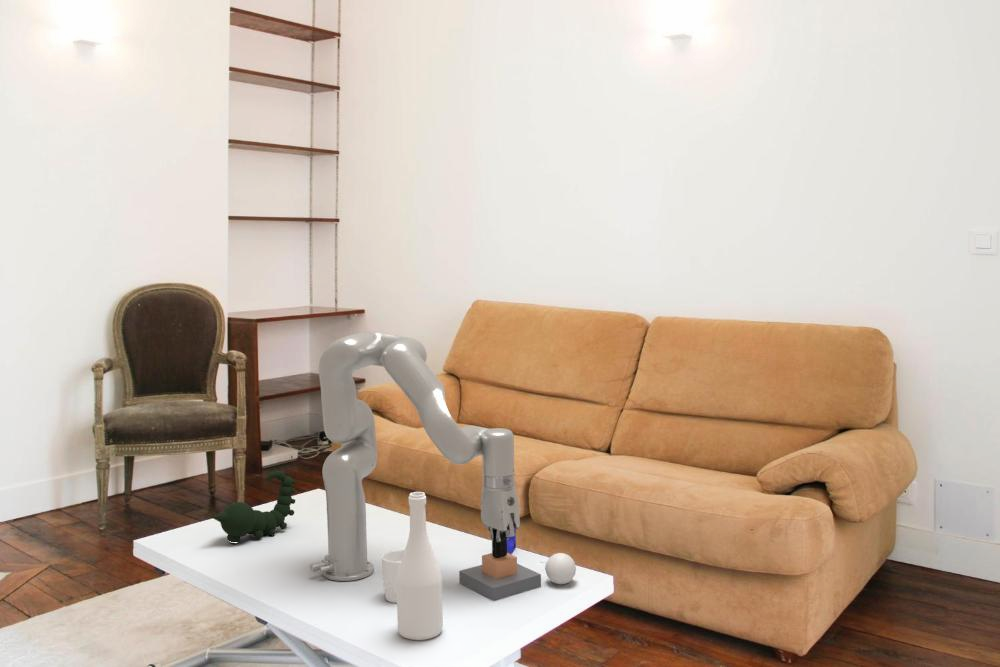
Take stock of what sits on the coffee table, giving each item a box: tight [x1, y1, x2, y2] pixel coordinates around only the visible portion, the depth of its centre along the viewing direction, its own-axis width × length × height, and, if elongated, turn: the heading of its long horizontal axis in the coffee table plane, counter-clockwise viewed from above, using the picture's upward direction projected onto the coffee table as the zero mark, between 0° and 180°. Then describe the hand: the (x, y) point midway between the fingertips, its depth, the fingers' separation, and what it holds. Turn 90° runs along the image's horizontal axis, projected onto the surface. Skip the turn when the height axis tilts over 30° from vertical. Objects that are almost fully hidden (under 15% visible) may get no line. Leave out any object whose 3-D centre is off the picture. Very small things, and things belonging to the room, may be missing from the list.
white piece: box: [541, 552, 577, 585], centre depth 221 cm, size 10×7×7 cm
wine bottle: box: [396, 491, 444, 641], centre depth 193 cm, size 10×10×30 cm
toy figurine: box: [211, 470, 296, 542], centre depth 256 cm, size 9×19×25 cm
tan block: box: [481, 552, 518, 579], centre depth 220 cm, size 6×6×7 cm
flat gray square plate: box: [458, 563, 542, 601], centre depth 220 cm, size 14×14×3 cm
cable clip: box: [507, 528, 517, 555], centre depth 241 cm, size 12×4×6 cm, turn 167°
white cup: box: [381, 549, 405, 604], centre depth 212 cm, size 8×8×10 cm
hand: (499, 555), depth 219 cm, fingers closed
